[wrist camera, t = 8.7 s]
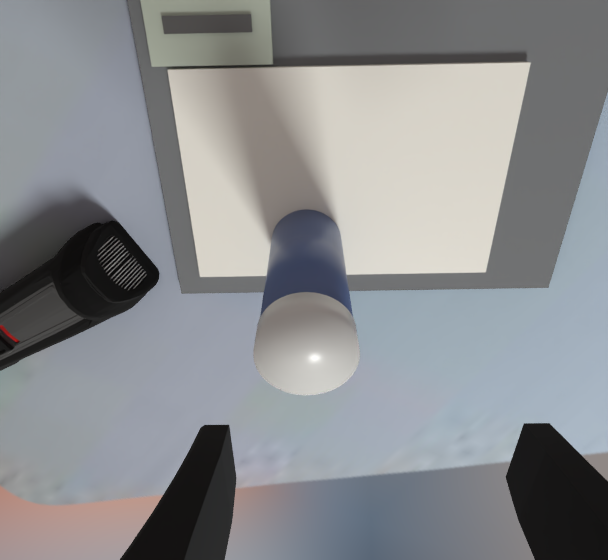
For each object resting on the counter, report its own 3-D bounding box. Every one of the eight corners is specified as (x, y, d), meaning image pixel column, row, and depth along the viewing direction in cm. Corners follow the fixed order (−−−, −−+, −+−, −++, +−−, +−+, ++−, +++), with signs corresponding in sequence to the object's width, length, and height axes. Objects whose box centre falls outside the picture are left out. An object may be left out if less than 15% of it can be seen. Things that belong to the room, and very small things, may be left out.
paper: (527, 61, 15) (530, 62, 15) (483, 268, 20) (485, 272, 19) (169, 68, 16) (167, 69, 15) (201, 273, 20) (199, 277, 19)
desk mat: (641, -50, 14) (650, -51, 14) (544, 282, 20) (548, 287, 20) (124, -38, 14) (119, -39, 14) (183, 288, 21) (181, 293, 20)
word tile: (269, -22, 14) (268, -23, 14) (273, 63, 15) (272, 64, 15) (139, -20, 14) (135, -21, 14) (154, 65, 16) (150, 67, 15)
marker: (344, 208, 18) (363, 313, 12) (340, 273, 19) (356, 395, 13) (269, 207, 18) (250, 312, 12) (271, 272, 19) (255, 394, 13)
